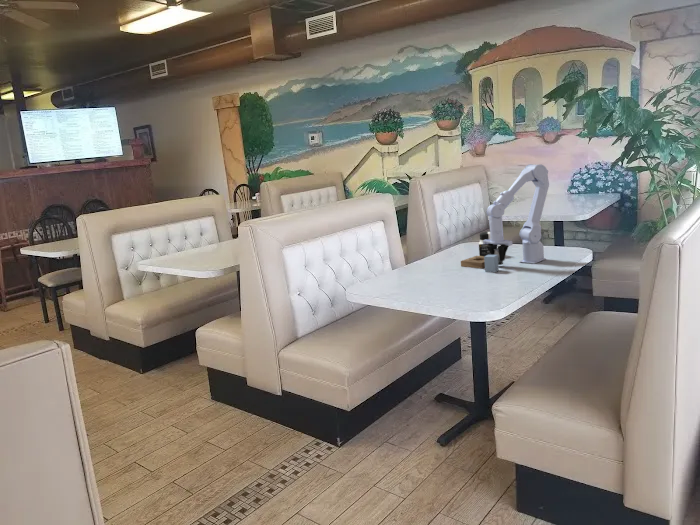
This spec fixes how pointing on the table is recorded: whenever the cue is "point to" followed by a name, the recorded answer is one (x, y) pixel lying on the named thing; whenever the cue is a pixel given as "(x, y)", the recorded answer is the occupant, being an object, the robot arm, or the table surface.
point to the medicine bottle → (483, 247)
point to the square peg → (491, 263)
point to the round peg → (496, 252)
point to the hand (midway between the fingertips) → (498, 260)
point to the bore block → (474, 262)
